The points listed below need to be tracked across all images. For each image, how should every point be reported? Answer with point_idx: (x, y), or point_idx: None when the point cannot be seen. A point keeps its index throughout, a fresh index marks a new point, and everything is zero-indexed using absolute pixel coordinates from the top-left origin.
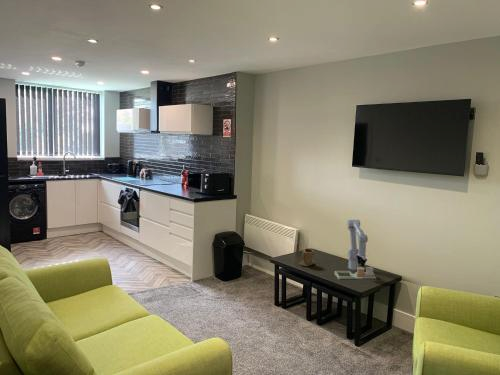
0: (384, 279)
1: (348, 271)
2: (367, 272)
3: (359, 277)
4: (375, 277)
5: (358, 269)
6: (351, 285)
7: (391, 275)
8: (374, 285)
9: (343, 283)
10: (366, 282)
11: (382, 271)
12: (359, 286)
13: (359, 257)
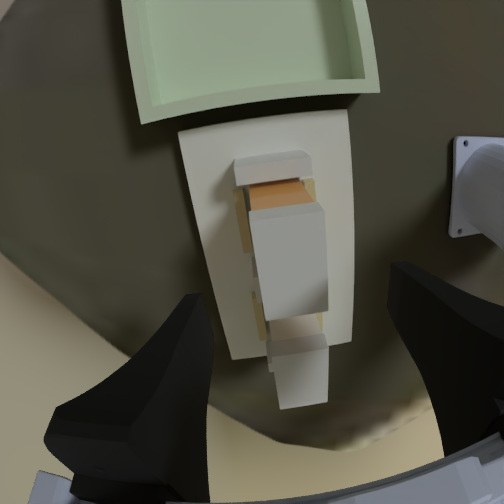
0: (244, 396)
1: (363, 69)
2: (269, 320)
3: (217, 193)
4: (251, 354)
5: (249, 215)
6: (7, 90)
7: (330, 430)
8: (74, 304)
9: (41, 8)
10: (118, 249)
11: (408, 394)
12: (5, 167)
13: (465, 383)
